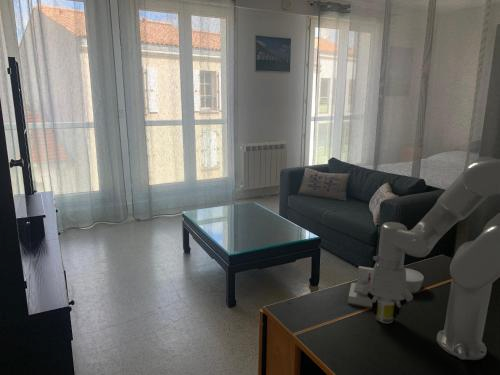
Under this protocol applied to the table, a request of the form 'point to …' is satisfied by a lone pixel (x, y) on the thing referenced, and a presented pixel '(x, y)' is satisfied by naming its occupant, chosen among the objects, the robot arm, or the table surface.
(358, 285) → the pan
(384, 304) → the supplement bottle
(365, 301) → the scale housing
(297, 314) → the table surface
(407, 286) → the ramekin
